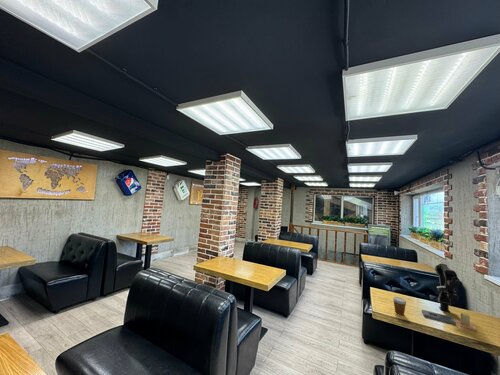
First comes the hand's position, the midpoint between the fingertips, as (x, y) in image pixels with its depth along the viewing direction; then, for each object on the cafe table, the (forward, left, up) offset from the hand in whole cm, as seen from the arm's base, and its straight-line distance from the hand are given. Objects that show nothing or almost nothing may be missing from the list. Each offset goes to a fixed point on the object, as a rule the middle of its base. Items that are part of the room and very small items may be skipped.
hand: (449, 302), depth 179 cm
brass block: (+9, +7, -12) cm, 16 cm away
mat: (+9, +7, -12) cm, 17 cm away
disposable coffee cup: (+21, -38, -12) cm, 45 cm away
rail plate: (+9, -10, -12) cm, 18 cm away
